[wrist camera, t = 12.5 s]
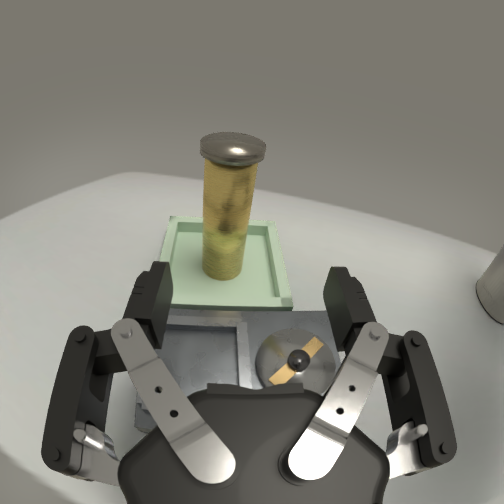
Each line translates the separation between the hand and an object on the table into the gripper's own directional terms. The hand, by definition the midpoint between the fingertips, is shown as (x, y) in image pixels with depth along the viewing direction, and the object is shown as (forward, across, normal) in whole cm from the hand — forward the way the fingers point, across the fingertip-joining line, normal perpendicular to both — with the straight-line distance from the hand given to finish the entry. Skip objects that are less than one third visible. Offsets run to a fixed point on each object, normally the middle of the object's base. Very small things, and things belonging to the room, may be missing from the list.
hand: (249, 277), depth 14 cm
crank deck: (0, 0, +10) cm, 11 cm away
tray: (+11, +2, +10) cm, 15 cm away
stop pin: (+11, +2, +9) cm, 14 cm away
